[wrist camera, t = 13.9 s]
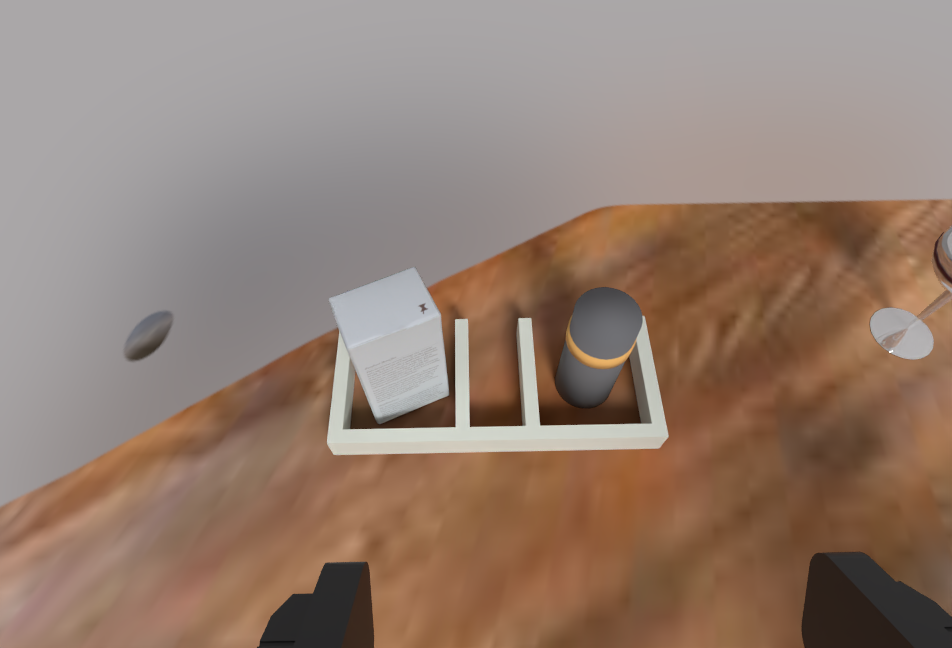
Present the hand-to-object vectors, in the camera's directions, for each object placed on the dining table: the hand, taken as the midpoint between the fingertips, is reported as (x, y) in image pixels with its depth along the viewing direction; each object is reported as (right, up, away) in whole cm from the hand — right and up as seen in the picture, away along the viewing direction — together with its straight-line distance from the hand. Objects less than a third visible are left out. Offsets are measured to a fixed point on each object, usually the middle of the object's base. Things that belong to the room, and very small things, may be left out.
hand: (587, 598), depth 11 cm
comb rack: (-1, 0, +36) cm, 36 cm away
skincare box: (-8, 0, +36) cm, 36 cm away
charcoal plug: (+6, 0, +36) cm, 36 cm away
